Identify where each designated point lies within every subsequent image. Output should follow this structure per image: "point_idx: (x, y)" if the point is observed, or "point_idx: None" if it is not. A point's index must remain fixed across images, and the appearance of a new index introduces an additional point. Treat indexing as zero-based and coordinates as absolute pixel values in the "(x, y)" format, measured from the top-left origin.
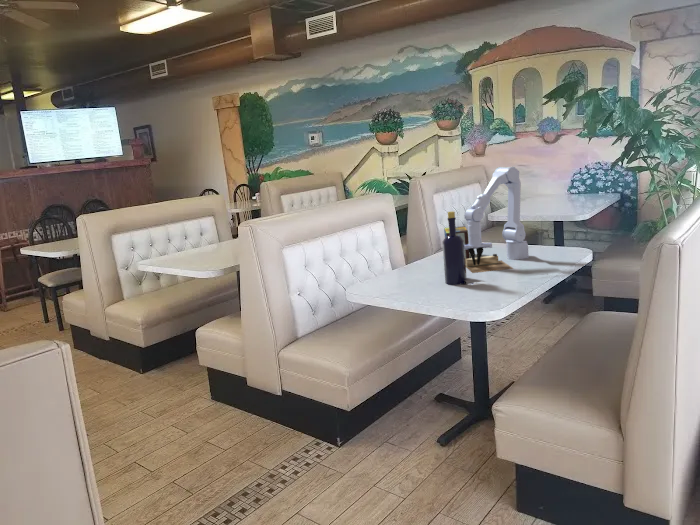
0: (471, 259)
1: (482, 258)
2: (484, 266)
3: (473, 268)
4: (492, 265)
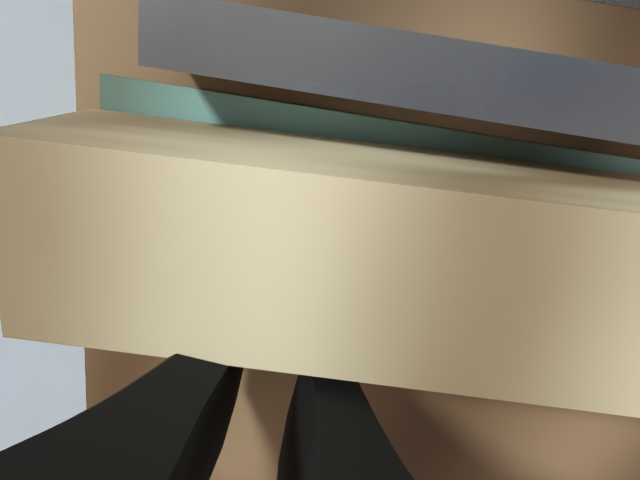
0: (146, 345)
1: (488, 391)
2: (419, 396)
3: None
4: (581, 415)
